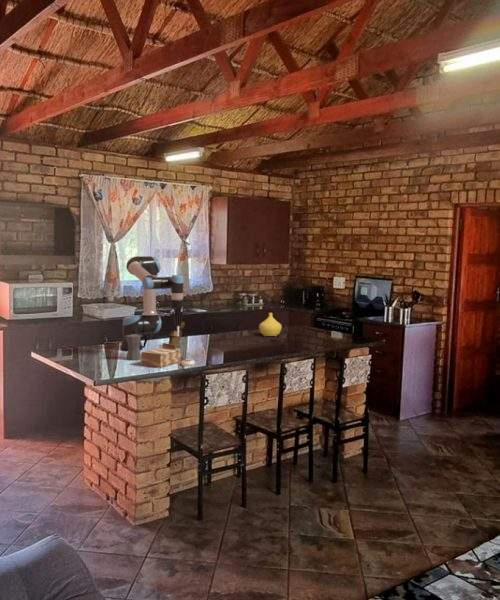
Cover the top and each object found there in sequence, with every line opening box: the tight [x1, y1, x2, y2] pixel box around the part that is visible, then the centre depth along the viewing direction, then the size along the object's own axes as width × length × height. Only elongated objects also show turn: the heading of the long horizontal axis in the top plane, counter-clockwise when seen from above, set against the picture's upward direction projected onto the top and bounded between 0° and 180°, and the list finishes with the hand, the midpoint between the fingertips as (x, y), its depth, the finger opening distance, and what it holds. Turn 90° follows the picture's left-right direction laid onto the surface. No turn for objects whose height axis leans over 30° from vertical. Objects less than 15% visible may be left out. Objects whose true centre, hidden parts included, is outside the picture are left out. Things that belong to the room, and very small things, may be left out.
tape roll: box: [180, 359, 196, 367], centre depth 340 cm, size 8×8×3 cm
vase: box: [258, 312, 282, 337], centre depth 458 cm, size 18×18×19 cm
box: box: [140, 350, 181, 369], centre depth 341 cm, size 20×15×8 cm
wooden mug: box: [168, 321, 186, 349], centre depth 401 cm, size 9×14×18 cm, turn 133°
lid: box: [143, 342, 181, 356], centre depth 341 cm, size 19×14×4 cm
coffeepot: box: [124, 331, 149, 361], centre depth 354 cm, size 15×9×18 cm, turn 90°
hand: (176, 335), depth 356 cm, fingers closed
